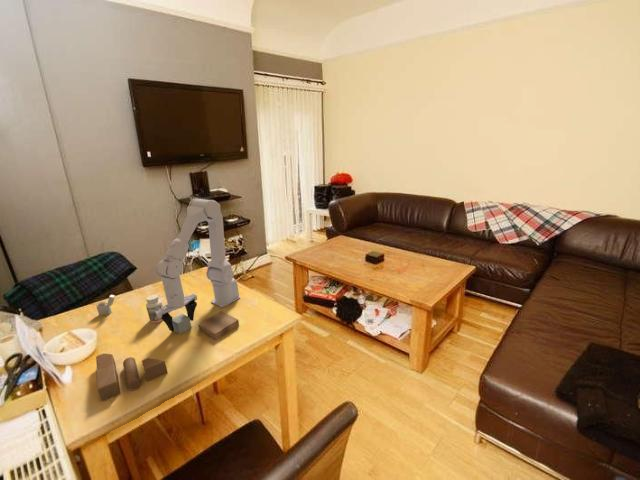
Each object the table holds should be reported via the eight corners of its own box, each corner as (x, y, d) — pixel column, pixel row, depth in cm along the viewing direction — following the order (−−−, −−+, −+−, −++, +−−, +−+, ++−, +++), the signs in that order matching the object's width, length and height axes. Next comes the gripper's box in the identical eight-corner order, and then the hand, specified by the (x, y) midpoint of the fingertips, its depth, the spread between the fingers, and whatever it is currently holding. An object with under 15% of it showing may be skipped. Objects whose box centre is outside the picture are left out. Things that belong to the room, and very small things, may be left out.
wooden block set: (95, 389, 84) (93, 352, 97) (101, 405, 86) (99, 367, 99) (164, 361, 93) (153, 331, 107) (168, 376, 95) (157, 345, 108)
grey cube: (184, 323, 119) (182, 313, 117) (191, 328, 116) (189, 317, 115) (173, 330, 116) (171, 319, 114) (180, 334, 113) (177, 323, 112)
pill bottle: (153, 315, 125) (147, 294, 121) (167, 314, 125) (162, 292, 122) (147, 324, 120) (141, 301, 116) (162, 322, 120) (156, 300, 117)
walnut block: (222, 317, 122) (221, 311, 121) (239, 326, 117) (238, 319, 116) (199, 331, 115) (198, 324, 114) (216, 341, 109) (214, 333, 108)
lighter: (99, 315, 127) (93, 298, 124) (101, 313, 128) (95, 295, 126) (117, 313, 127) (112, 296, 125) (119, 311, 129) (114, 294, 126)
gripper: (186, 281, 118) (193, 312, 123) (147, 298, 108) (156, 331, 112) (197, 285, 114) (203, 318, 119) (158, 304, 104) (167, 338, 108)
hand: (181, 325), depth 115 cm, fingers open, 7 cm apart
